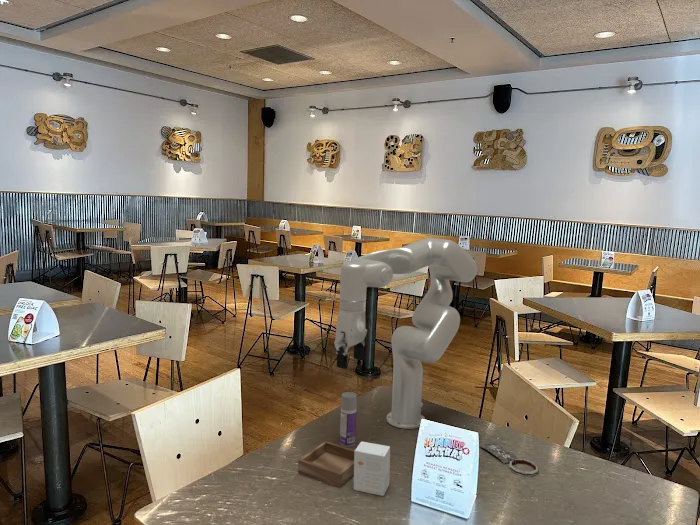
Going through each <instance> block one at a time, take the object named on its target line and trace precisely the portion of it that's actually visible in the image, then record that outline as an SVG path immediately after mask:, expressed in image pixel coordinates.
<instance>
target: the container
mask: <svg viewBox="0 0 700 525" xmlns="http://www.w3.org/2000/svg"><path fill="white" fill-rule="evenodd" d="M357 399H358V396H357V393H355V392H352V391H345V392H342V393H341V399H340V400H341V402H340V403H341V404H340V422H339V423H340V425H339V428H340V429H339V445H340V446H343V447H346V448H351V447H352V448H353V447H354V446H355V445H356V443H357V442H356V440H357V439H356V437H357V416H358V415H357V414H358V408H357V406H358V404H357V401H358V400H357Z"/></svg>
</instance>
